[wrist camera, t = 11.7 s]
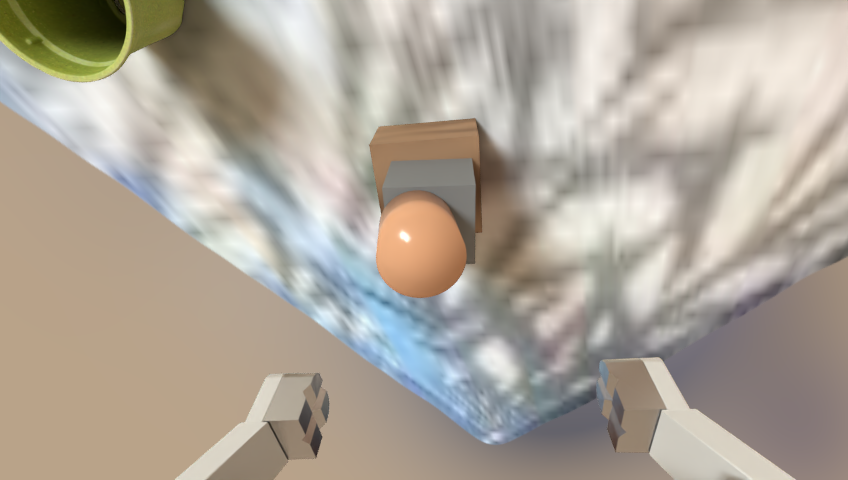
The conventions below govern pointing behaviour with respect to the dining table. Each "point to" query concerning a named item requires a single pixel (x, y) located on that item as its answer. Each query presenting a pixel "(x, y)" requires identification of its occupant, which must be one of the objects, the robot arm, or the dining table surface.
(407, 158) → the tower base
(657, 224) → the dining table surface
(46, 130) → the dining table surface
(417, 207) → the terracotta cylinder
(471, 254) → the tower top
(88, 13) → the plant pot
